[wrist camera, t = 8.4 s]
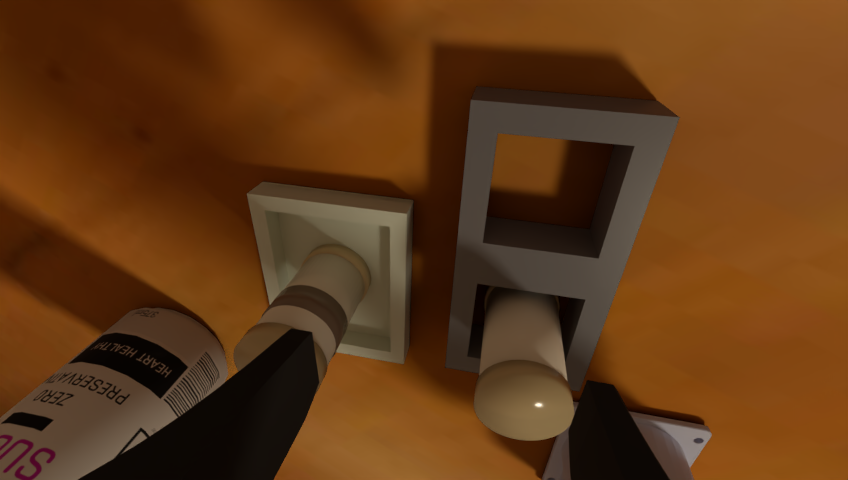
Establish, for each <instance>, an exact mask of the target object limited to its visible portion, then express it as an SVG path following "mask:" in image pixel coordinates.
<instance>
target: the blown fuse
mask: <svg viewBox="0 0 848 480" xmlns="http://www.w3.org/2000/svg"><path fill="white" fill-rule="evenodd" d="M370 284H371V273H370V270H369V267H368V265H367V264H366V262H365V261H364V259H363V258H362V257H361V256H360V255H359V254H357V253H356V252H355V251H353V250H351V249H350V248H347V247H345V246H342V245H338V244H324V245H320V246H318V247H316V248H315V249H313V250H312V251H311V253H310V254H309V255H308V256H307V258H306V259H305V260H304V261H303V263H302V265H301V268H300V270H299V271H298V272H297V273H296V275H295V276H294V277H293V278H292V280H291V281H290V282H289V283H288V285H287V286H286V287H285V289H284V290H282V291H281V292H280V293H279V294H278V296H277V297H276V298H275V300H274V301H273V302H272V303H271V305H270V306H269V307H268V308H267V310H266V311H265V312H264V313H263V315H262V317H261V319H260V320H259V322H258V323H257V324H256V325H255V326H253V327H252V328H250V329H249V330H248V332H247V333H246V334H245V335H244V337H243V338H242V339H241V340H240V342H239V343H238V344H237V346H236V347H235V350H234V362H235V365H236V367H237V369H238V371H240V370H241V369H242V368H244V367H245V366H246V365H247V364H249V363H250V362H251V361H252V360H253V359H255V358H256V357H257V356H258V355H259V354H261V353H262V352H263V351H264V350H265V349H267V348H268V347H269V346H270V345H271V344H273V343H274V342H275V341H276V340H277V339H279V338H280V337H281V336H282V335H283V334H285V333H286V332H287V331H288V330H290V329H291V328H293V329H298V330H304V331H310V332H312V334H313V341H314V348H315V355H316V362H317V369H318V376H319V385H318V388H317V390H316V392H317V391H318V389H319V387H320V385H321V383H322V381H323V379H324V377H325V375H326V372H327V366H328V364H329V362H330V360H331V358H332V357H333V356H334V354H335V353H336V351H337V349H338V347H339V345H340V343H341V341H342V339H343V337H344V335H345V333H346V330H347V327H348V325H349V323H350V321H351V319H352V317H353V315H354V313H355V311H356V309H357V307H358V305H359V303H360V302H361V301H362V300H363V299H364V297H365V295H366V293H367V291H368V289H369V287H370Z"/></svg>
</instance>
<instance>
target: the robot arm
mask: <svg viewBox="0 0 848 480" xmlns="http://www.w3.org/2000/svg"><path fill="white" fill-rule="evenodd" d="M318 385H319V376H318V369H317V362H316V355H315V348H314V341H313V334H312V332H310V331H304V330H298V329H293V328H291V329H290V330H288V331H287V332H286V333H285V334H283V335H282V336H281V337H280V338H279V339H277V340H276V341H275V342H274V343H273V344H271V345H270V346H269V347H268V348H267V349H265V350H264V351H263V352H262V353H261V354H259V355H258V356H257V357H256V358H255V359H253V360H252V361H251V362H250V363H249V364H247V365H246V366H245V367H244V368H242V369H241V370H240V371H239V372H237V373H236V374H235V375H234V376H232V377H231V378H230V379H229V380H227V381H226V382H225V383H224V384H222V385H221V386H220V387H218V388H217V389H216V390H215V391H213V392H212V393H211V394H209V395H208V396H206V397H205V398H204V399H202V400H201V401H200V402H198V403H197V404H196V405H194V406H193V407H192V408H190V409H189V410H187V411H186V412H185V413H183V414H182V415H181V416H179V417H178V418H176V419H175V420H173V421H172V422H170V423H169V424H168V425H166V426H165V427H163V428H162V429H160V430H159V431H157V432H156V433H154V434H153V435H151V436H149V437H148V438H146V439H145V440H143V441H142V442H140V443H139V444H137V445H135V446H134V447H132V448H131V449H129V450H127V451H126V452H124V453H122V454H121V455H119V456H117V457H116V458H114V459H112V460H111V461H109V462H107V463H105V464H104V465H102V466H100V467H98V468H97V469H95V470H93V471H91V472H90V473H88V474H86V475H85V476H83V477H81V478H79V479H78V480H274V478H275V476H276V474H277V472H278V470H279V468H280V466H281V464H282V463H283V461H284V459H285V457H286V455H287V453H288V451H289V449H290V447H291V445H292V444H293V442H294V440H295V438H296V436H297V434H298V432H299V430H300V428H301V426H302V424H303V422H304V420H305V418H306V416H307V413H308V411H309V408H310V406H311V403H312V401H313V398H314V396H315V393H316V390H317V388H318ZM573 406H574V417H573V419H572V422H571V424H570V426H569V427H568V428H567V429H566V430H565V431H563V432H562V433H561V434H559V435H557V437H556V440H555V443H554V445H553V448H552V451H551V454H550V457H549V460H548V462H547V465H546V468H545V471H544V474H543V477H542V480H694V478H693V476H692V473H691V470H690V467H691V465H692V464H693V462H694V461H695V459H696V458H697V456H698V455H699V453H700V452H701V451H702V449H703V448H704V446H705V445H706V443H707V442H708V440H709V439H710V437H711V435H712V434H711V432H710V430H709V428H708V427H707V426H705V425H701V424H695V423H690V422H685V421H679V420H674V419H668V418H663V417H657V416H652V415H646V414H641V413H635V412H630V411H628V409H627V407H626V405H625V404H624V402H623V400H622V398H621V397H620V395H619V393H618V391H617V389H616V388H615V387H614V385H612V384H606V383H600V382H594V381H589V380H587V382H586V384H585V387H584V390H583V393H582V395H581V398H580V401H579V402H573Z"/></svg>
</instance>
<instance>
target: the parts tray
mask: <svg viewBox="0 0 848 480" xmlns="http://www.w3.org/2000/svg"><path fill="white" fill-rule="evenodd" d="M247 198H248V203H249V207H250V212H251V217H252V222H253V227H254V231H255V236H256V241H257V246H258V251H259V255H260V260H261V265H262V270H263V275H264V279H265V284H266V289H267V294H268V299H269V303H270V305H271V303H272V302H273V301H274V300H275V298H276V297H277V296H278V294H279V293H280V292H281V291H282V290H284V289H285V287H286V286H287V285H288V283H289V282H290V281H291V280H292V278H293V277H294V276H295V275H296V273H297V272H298V271H299V270H300V268H301V265H302V263H303V261H304V260H305V259H306V258H307V256H308V255H309V254H310V253H311V251H312V250H313V249H315V248H316V247H318V246H320V245H324V244H338V245H342V246H345V247H347V248H350V249H351V250H353V251H355V252H356V253H357V254H359V255H360V256H361V257H362V258H363V259H364V261H365V262H366V264H367V265H368V267H369V270H370V273H371V284H370V287H369V289H368V291H367V293H366V295H365V297H364V299H363V300H362V301H361V302H360V303H359V305H358V307H357V309H356V311H355V313H354V315H353V317H352V319H351V321H350V323H349V325H348V327H347V330H346V333H345V335H344V337H343V339H342V341H341V343H340V345H339V347H338V349H337V351H336V352H339V353H345V354H350V355H356V356H361V357H367V358H372V359H378V360H383V361H389V362H394V363H400V364H404V362H405V359H406V356H407V352H408V349H409V345H410V310H411V275H412V240H413V205H414V200H410V199H401V198H393V197H385V196H377V195H369V194H360V193H352V192H344V191H336V190H327V189H319V188H311V187H303V186H295V185H286V184H278V183H270V182H262V183H260V184H259V185H258V186H256V187H255V188H253V189H252V190H251V191H249V192H248V193H247Z"/></svg>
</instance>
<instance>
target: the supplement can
mask: <svg viewBox="0 0 848 480" xmlns="http://www.w3.org/2000/svg"><path fill="white" fill-rule="evenodd" d="M227 376H228V370H227V362H226V358H225V352H224V350H223V348H222V347H221V345H220V343H219V341H218V340H217V339H216V338H215V336H214V335H213V334H212V333H211V332H210V331H209V330H208V329H207V328H206V327H204V326H203V325H202V324H200V323H199V322H197V321H196V320H194V319H193V318H191V317H189V316H187V315H184V314H182V313H180V312H177V311H175V310H170V309H163V308H153V309H152V308H141V309H136V310H131V311H130V312H128V313H127V314H126V315H125V316H124V317H122V318H121V319H120V320H119V321H117V322H116V323H115V324H114V325H113V326H111V327H110V328H109V329H108V330H107V331H105V332H104V333H103V334H102V335H100V336H99V337H98V338H97V339H96V340H94V341H93V342H92V343H91V344H90V345H88V346H87V347H86V348H85V349H83V350H82V351H81V352H80V353H79V354H77V355H76V356H75V357H74V358H73V359H71V360H70V361H69V362H68V363H66V364H65V365H64V366H63V367H62V368H60V369H59V370H58V371H57V372H55V373H54V374H53V375H52V376H51V377H49V378H48V379H47V380H46V381H45V382H43V383H42V384H41V385H40V386H38V387H37V388H36V389H35V390H34V391H32V392H31V393H30V394H29V395H28V396H26V397H25V398H24V399H23V400H21V401H20V402H19V403H18V404H17V405H15V406H14V407H13V408H12V409H11V410H9V411H8V412H7V413H6V414H4V415H3V416H2V417H1V418H0V480H78V479H79V478H81V477H83V476H85V475H86V474H88V473H90V472H91V471H93V470H95V469H97V468H98V467H100V466H102V465H104V464H105V463H107V462H109V461H111V460H112V459H114V458H116V457H117V456H119V455H121V454H122V453H124V452H126V451H127V450H129V449H131V448H132V447H134V446H135V445H137V444H139V443H140V442H142V441H143V440H145V439H146V438H148V437H149V436H151V435H153V434H154V433H156V432H157V431H159V430H160V429H162V428H163V427H165V426H166V425H168V424H169V423H170V422H172V421H173V420H175V419H176V418H178V417H179V416H181V415H182V414H183V413H185V412H186V411H187V410H189V409H190V408H192V407H193V406H194V405H196V404H197V403H198V402H200V401H201V400H202V399H204V398H205V397H206V396H208V395H209V394H211V393H212V392H213V391H215V390H216V389H217V388H218V387H220V386H221V385H222V384H224V382H225V380H226V378H227Z"/></svg>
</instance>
